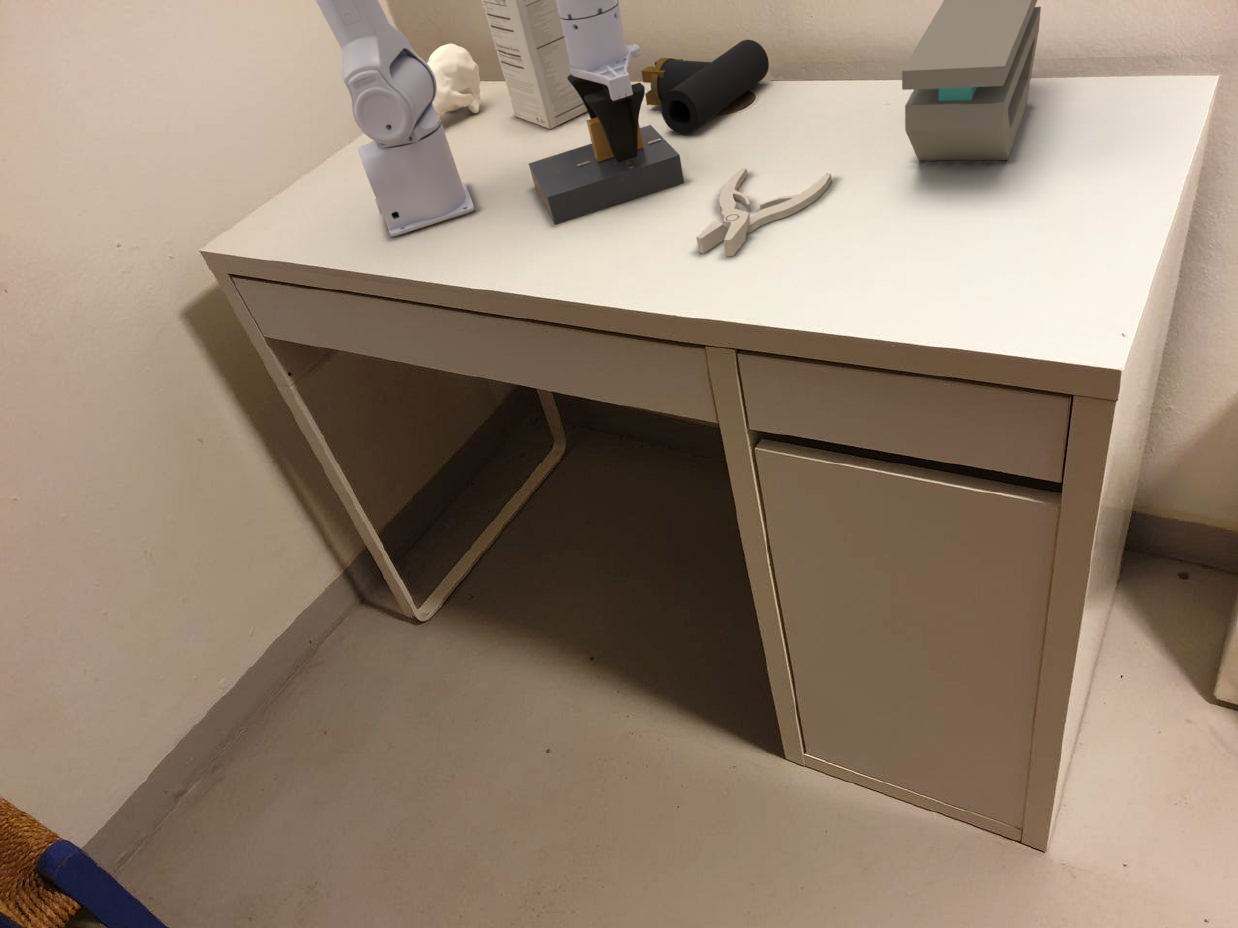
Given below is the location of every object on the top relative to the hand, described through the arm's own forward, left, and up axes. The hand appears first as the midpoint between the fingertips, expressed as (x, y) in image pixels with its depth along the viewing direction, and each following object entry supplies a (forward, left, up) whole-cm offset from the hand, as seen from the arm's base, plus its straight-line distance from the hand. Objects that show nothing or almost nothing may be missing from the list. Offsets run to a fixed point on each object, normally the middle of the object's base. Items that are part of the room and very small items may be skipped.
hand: (618, 148), depth 93 cm
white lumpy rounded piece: (-15, +36, -4) cm, 39 cm away
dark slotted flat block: (-2, 0, -3) cm, 4 cm away
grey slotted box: (+32, -14, -4) cm, 35 cm away
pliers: (+8, -16, -4) cm, 18 cm away
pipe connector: (+13, +14, -4) cm, 19 cm away
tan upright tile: (0, 0, 0) cm, 0 cm away
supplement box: (-1, +27, -4) cm, 27 cm away
